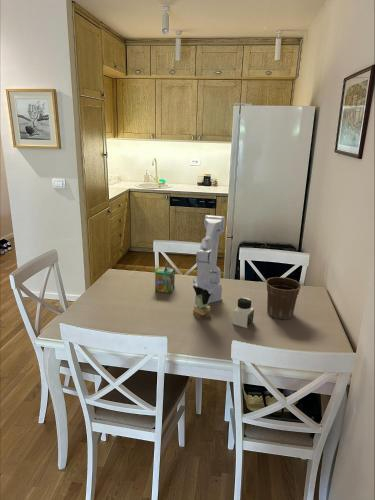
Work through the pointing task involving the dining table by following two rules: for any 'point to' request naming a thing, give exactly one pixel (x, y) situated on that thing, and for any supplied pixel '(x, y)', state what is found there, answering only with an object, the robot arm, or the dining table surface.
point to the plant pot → (281, 297)
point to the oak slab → (202, 310)
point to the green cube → (200, 301)
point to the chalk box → (164, 279)
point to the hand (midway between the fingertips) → (202, 301)
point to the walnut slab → (201, 315)
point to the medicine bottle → (243, 313)
